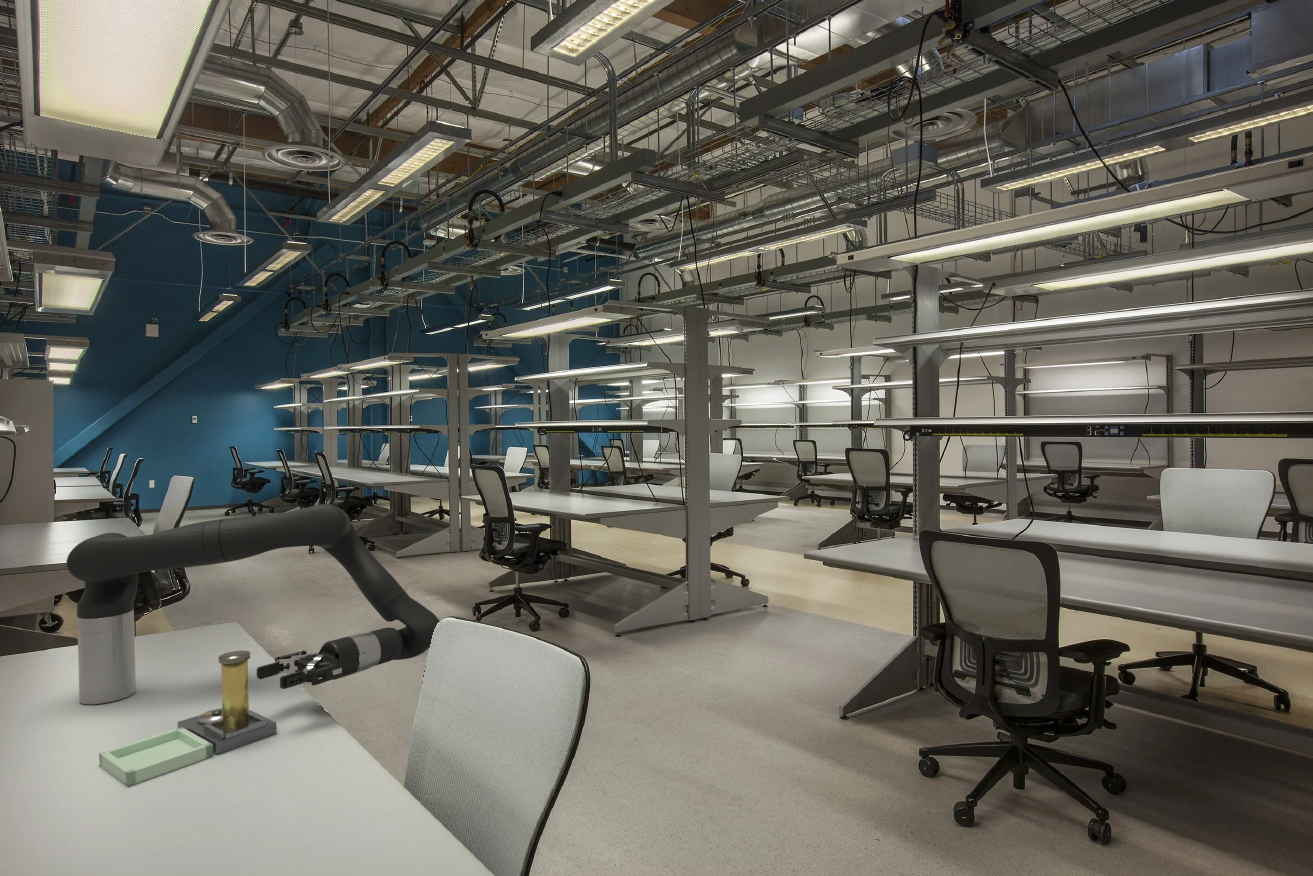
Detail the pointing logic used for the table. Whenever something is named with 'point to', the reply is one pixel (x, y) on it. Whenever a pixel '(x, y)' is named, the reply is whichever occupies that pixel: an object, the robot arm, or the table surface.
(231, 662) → the pin
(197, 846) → the table surface
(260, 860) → the table surface
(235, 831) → the table surface
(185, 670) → the table surface
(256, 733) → the crank deck
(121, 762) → the tray
